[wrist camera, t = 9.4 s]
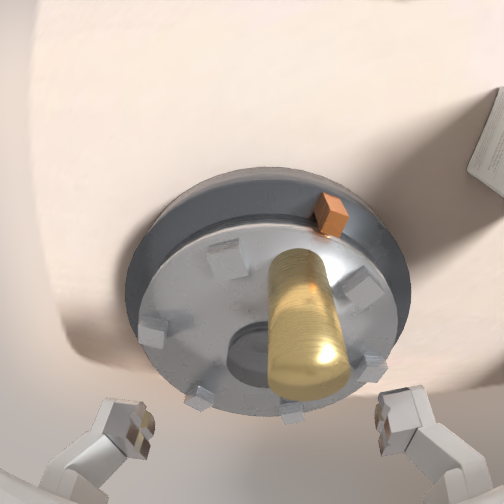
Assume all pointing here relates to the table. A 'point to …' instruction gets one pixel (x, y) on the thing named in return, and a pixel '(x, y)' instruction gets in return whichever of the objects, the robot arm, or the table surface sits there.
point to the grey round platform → (271, 202)
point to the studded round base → (267, 317)
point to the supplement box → (491, 149)
